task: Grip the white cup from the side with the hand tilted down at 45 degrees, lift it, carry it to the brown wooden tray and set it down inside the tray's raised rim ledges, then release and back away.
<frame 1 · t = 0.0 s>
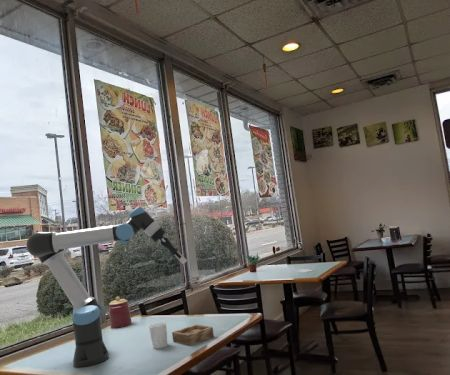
hand: (184, 261, 206), 36 cm above the table, tool tilted 35°, fingers open, 13 cm apart
brown wooden tray: (193, 339, 192), on the table
canister: (121, 325, 250), on the table
white cup: (160, 346, 189), on the table
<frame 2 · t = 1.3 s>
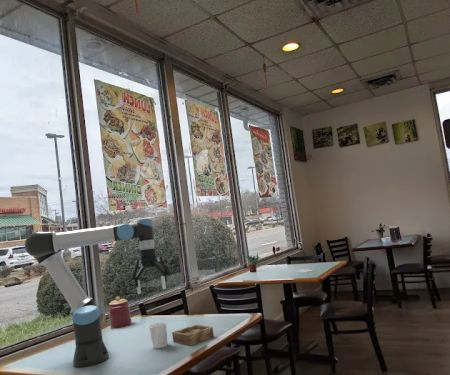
hand: (152, 291, 203), 24 cm above the table, tool pointing down, fingers open, 13 cm apart
nothing on the table moved.
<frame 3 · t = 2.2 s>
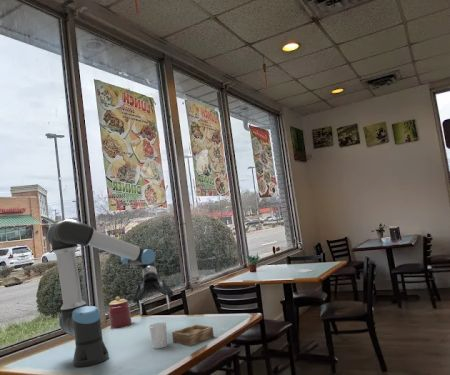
hand: (155, 310, 200), 15 cm above the table, tool tilted 45°, fingers open, 13 cm apart
nothing on the table moved.
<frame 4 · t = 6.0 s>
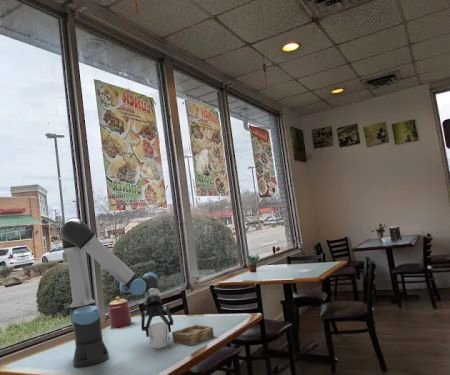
hand: (159, 340, 186), 4 cm above the table, tool tilted 45°, fingers closed on white cup, 8 cm apart
white cup: (160, 346, 189), on the table, touching gripper
everything else where it was.
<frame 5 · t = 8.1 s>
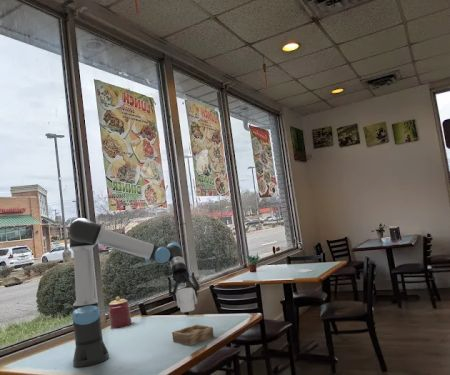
hand: (187, 304, 190), 17 cm above the table, tool tilted 45°, fingers closed on white cup, 8 cm apart
white cup: (187, 310, 193), point 13 cm above the table, touching gripper
everything else where it was.
when the fingers open (8 cm above the table, at t = 10.2 s): white cup drops 1 cm, resting on brown wooden tray.
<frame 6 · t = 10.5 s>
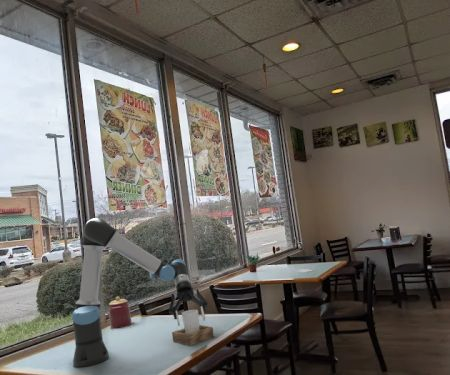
hand: (191, 321, 190), 9 cm above the table, tool tilted 45°, fingers open, 11 cm apart
white cup: (192, 333, 192), point 3 cm above the table, touching brown wooden tray
everything else where it was.
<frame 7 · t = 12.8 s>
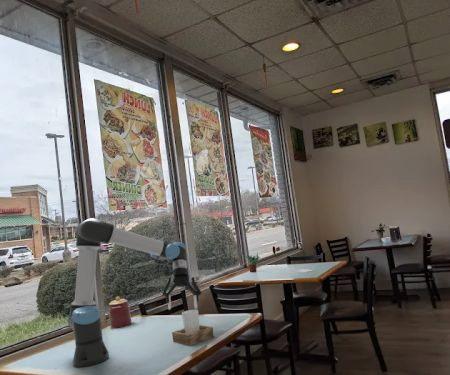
hand: (183, 308, 205), 13 cm above the table, tool tilted 30°, fingers open, 13 cm apart
nothing on the table moved.
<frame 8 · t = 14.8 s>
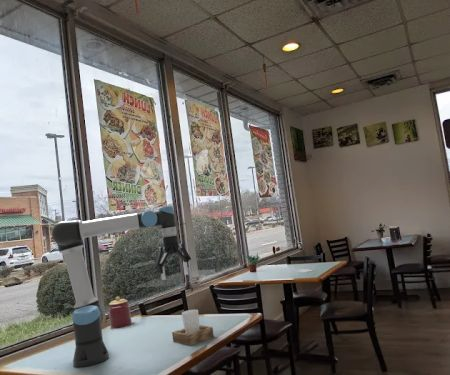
hand: (175, 277, 208), 29 cm above the table, tool pointing down, fingers open, 13 cm apart
nothing on the table moved.
at the end: white cup inside the target area on the brown wooden tray (0.1 cm from its centre), point 2.8 cm above the brown wooden tray's base; white cup tilted 0°; the gripper is holding nothing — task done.
